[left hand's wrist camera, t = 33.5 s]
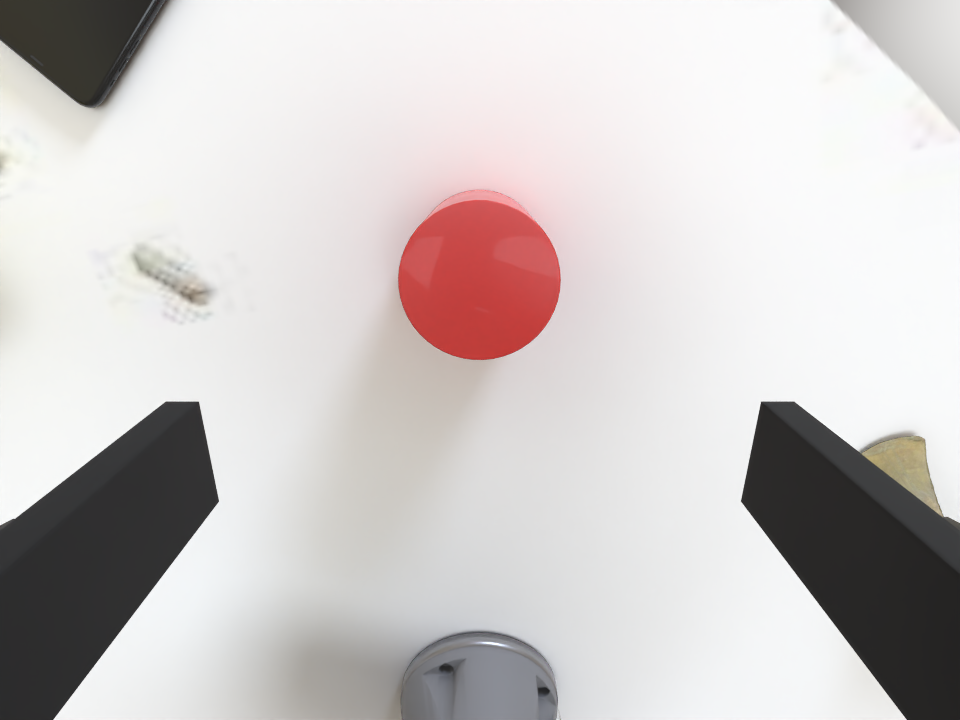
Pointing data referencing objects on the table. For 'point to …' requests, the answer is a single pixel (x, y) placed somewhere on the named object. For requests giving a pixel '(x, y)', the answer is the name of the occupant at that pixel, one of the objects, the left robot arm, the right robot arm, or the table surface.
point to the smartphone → (77, 40)
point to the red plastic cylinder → (479, 276)
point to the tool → (906, 466)
